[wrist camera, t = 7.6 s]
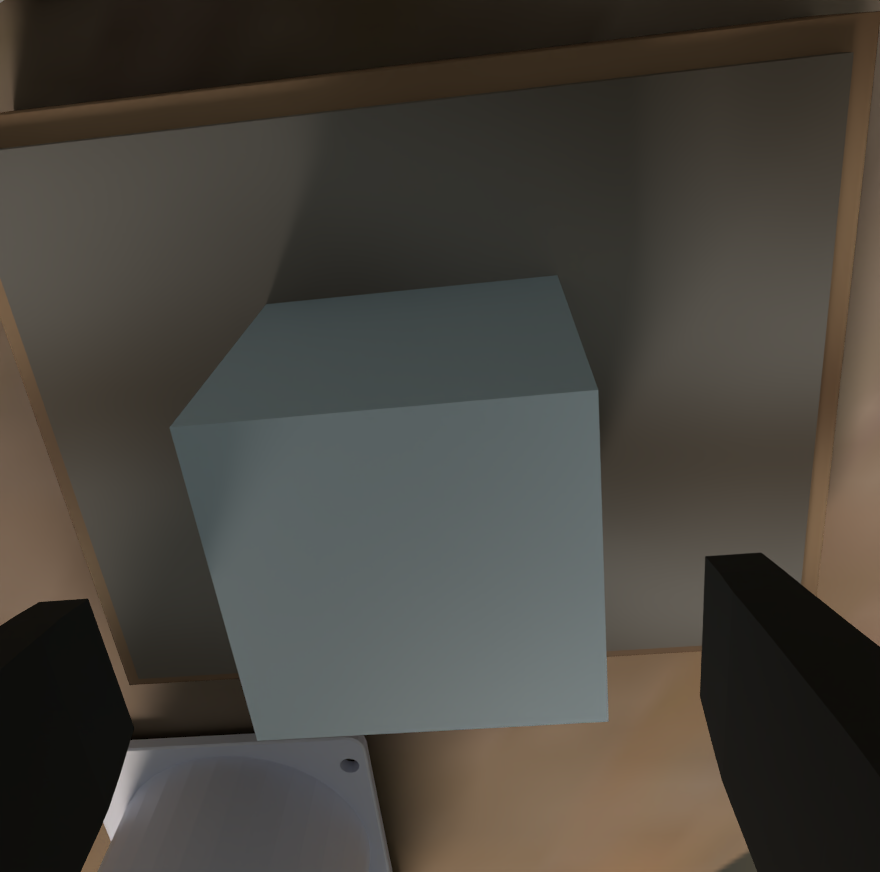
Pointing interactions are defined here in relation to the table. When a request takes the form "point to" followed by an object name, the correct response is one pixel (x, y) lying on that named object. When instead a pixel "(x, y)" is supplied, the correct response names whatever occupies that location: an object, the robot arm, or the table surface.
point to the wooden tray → (457, 263)
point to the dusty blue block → (406, 511)
